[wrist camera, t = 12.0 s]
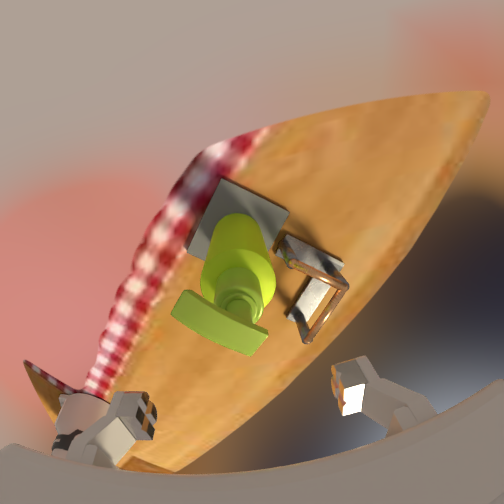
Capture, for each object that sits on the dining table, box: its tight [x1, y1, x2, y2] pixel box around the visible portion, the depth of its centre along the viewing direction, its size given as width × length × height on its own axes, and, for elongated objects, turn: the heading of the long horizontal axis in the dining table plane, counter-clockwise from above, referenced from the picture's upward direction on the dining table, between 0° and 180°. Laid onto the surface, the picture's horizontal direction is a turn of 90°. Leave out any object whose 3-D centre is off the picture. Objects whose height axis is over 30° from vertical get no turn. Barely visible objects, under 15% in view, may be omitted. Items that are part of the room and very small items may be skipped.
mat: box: [187, 178, 290, 261], centre depth 34 cm, size 10×9×1 cm
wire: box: [275, 233, 349, 344], centre depth 34 cm, size 10×9×6 cm
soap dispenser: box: [171, 213, 276, 357], centre depth 25 cm, size 6×7×20 cm
